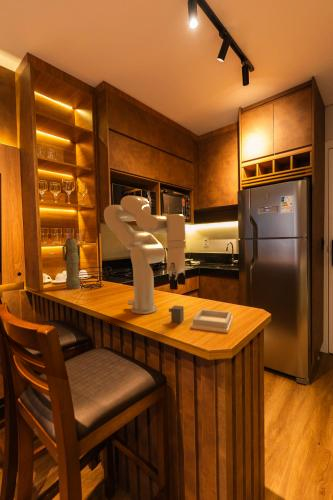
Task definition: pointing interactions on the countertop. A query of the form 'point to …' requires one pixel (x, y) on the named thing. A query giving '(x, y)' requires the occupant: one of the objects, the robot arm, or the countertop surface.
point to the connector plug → (177, 314)
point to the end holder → (212, 320)
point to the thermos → (71, 263)
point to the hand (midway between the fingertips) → (177, 286)
